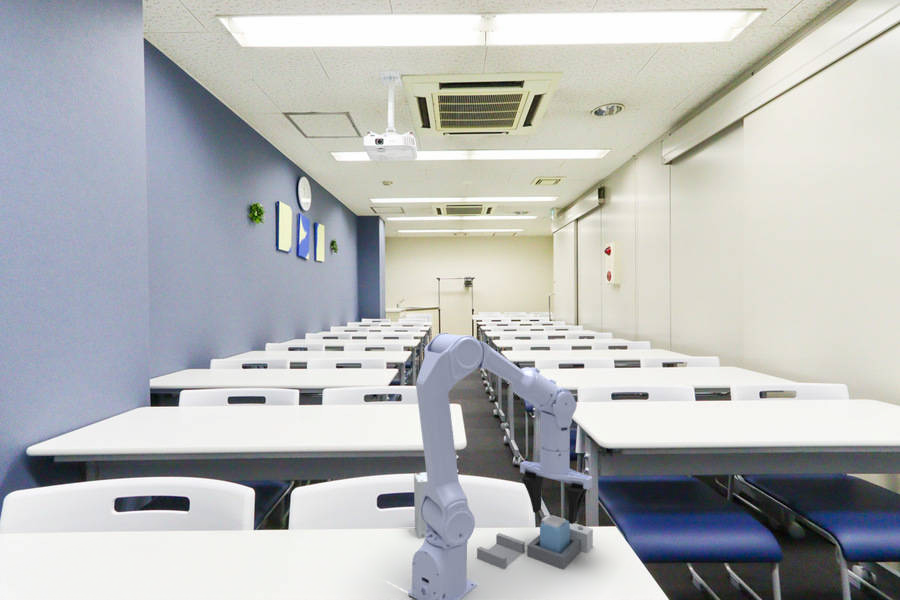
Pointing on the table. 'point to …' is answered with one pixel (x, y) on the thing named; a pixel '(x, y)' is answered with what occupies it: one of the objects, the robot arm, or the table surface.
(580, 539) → the port
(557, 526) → the plug
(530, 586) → the table surface
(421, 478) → the skincare box
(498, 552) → the grey u-shaped bracket
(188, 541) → the table surface
